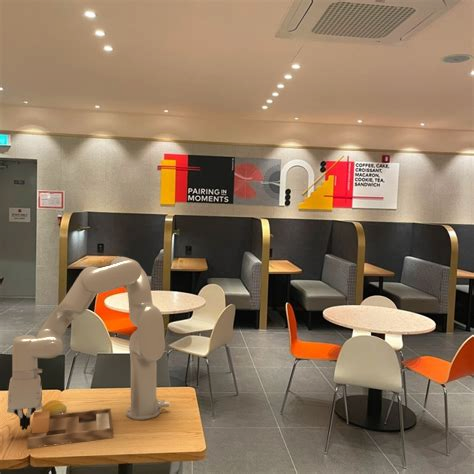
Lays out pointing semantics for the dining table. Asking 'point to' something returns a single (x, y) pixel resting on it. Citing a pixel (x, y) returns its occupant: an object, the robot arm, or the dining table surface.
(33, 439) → the box
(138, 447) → the dining table surface
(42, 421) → the orange block
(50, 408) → the bread roll
